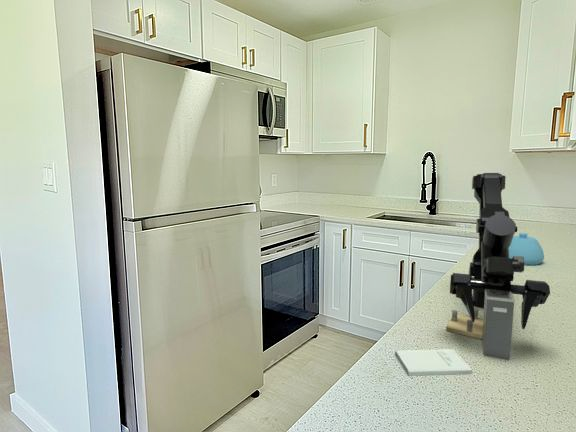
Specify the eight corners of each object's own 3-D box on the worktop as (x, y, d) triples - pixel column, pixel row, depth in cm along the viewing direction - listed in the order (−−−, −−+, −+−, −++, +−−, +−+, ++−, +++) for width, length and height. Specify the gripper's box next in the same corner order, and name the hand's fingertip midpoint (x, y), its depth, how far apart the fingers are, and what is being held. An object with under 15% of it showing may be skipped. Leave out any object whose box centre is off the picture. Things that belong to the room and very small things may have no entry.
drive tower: (481, 345, 83) (484, 288, 81) (506, 349, 81) (510, 291, 79) (483, 355, 78) (487, 296, 76) (510, 360, 76) (514, 299, 74)
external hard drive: (394, 356, 79) (451, 354, 80) (408, 378, 71) (472, 376, 72) (394, 349, 79) (452, 347, 80) (408, 371, 71) (472, 368, 72)
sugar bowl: (518, 255, 160) (520, 228, 159) (552, 264, 146) (555, 235, 144) (491, 258, 156) (493, 231, 154) (524, 267, 141) (526, 238, 140)
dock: (454, 316, 98) (455, 303, 97) (497, 325, 92) (498, 312, 92) (445, 330, 90) (446, 317, 89) (492, 341, 84) (493, 327, 84)
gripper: (452, 238, 84) (450, 302, 75) (552, 244, 76) (562, 315, 68) (450, 263, 92) (448, 323, 83) (539, 271, 85) (547, 337, 76)
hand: (498, 324), depth 77 cm, fingers open, 9 cm apart
